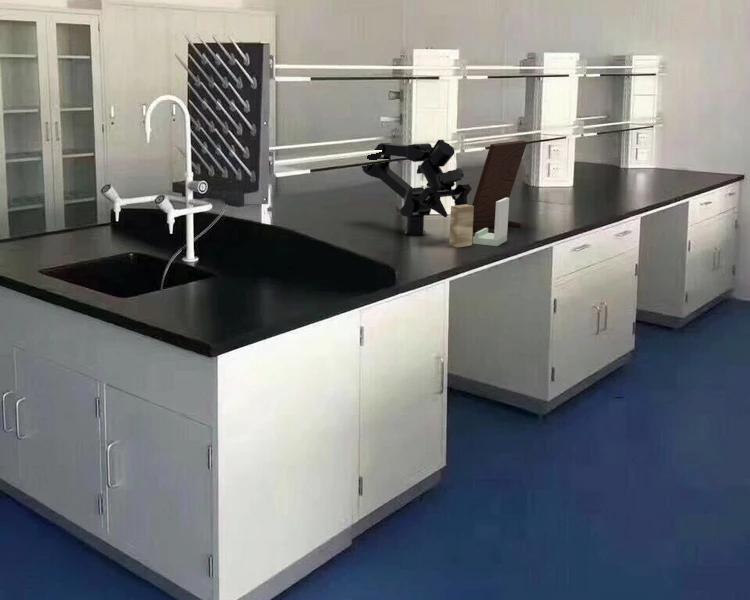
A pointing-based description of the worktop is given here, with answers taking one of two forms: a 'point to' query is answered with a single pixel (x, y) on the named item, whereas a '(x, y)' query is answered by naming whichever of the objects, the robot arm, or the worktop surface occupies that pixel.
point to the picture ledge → (500, 226)
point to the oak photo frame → (461, 225)
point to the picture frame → (496, 182)
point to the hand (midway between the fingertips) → (457, 215)
